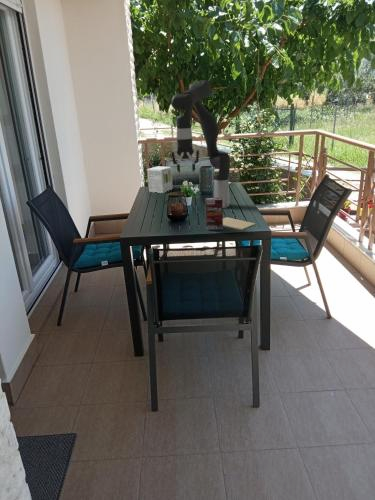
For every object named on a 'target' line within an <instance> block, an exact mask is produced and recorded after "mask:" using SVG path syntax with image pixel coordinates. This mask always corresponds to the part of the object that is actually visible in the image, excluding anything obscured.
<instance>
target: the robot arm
mask: <svg viewBox="0 0 375 500" xmlns="http://www.w3.org/2000/svg"><path fill="white" fill-rule="evenodd" d="M211 86H212V85H211V83H210V82H209V81H208V80H206V79H202V80H198V81H195V82H192V83H190V84H189V86H188V90H186V91H184V92H181V93H179V92H178V93H176V94H173V97H171V101H170V102H171V107H172V108H173V110H175V111H184V113H183V114H180V115H178V116H176V118H175V119H176V141H177V143H176V144H177V150H176V151H174V150H173V151H171V157H172V164H173V165H176V169H177V170H176V171H177V172H178V173H181V164H180V163H181V161H182V160H185V159H187V160H190V162H191V163H192V164H191V168H192V170H191V171H192V172H195V171H196V164H197V163H199V160H200V158H199V156H200V150H199V149H196V150H194V148H193V131H192V115H193V110H194V109H193V107H194V108H195V110H196V113H197V116H198V120H199V124H200V127H201V131H202V133H203V136H204V140H205V143H206V144H205V145H206V148H207V154H208V158H209V163H210V165H211V166H212V167H213V168H216V169H218V172H216V173H215V174H213V178H212V179H213V198H222V200H223V209H226V208H228V207H230V206H231V203H230V202H231V201H230V200H231V198H230V197H231V195H230V194H231V193H230V190H229V189H230V187H229V178H230V177H229V176H230V172H231V170H230V167H231V159H230V155H229V153H227V152H222V151H221V152H219V149H218V146H217V142H218V138H219V131H220V130H219V126H218V123H217V122H218V121H217V120H216V119H217V118H215V116H214V115H213V114H212V113H211V112H209V110H207V109H206V108H205V106H204V105H203V103H202V101H201V100H204V99H207V98H209V97H211V94H212V87H211ZM193 154H194V155H195V160H194V157H193V156H192V155H193ZM177 155H178V160H177V161H176V156H177Z"/></svg>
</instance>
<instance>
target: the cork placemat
mask: <svg viewBox="0 0 375 500" xmlns="http://www.w3.org/2000/svg"><path fill="white" fill-rule="evenodd" d="M255 225H256V223H255V222H250V221H245V220H242V219H241V220H240V219H236V218H232V217H227V216H226V217H223V227H227V228H230V229H231V228H232V229H236V230H240V231H242V230H245V229H248V228H250V227H253V226H255Z"/></svg>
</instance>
